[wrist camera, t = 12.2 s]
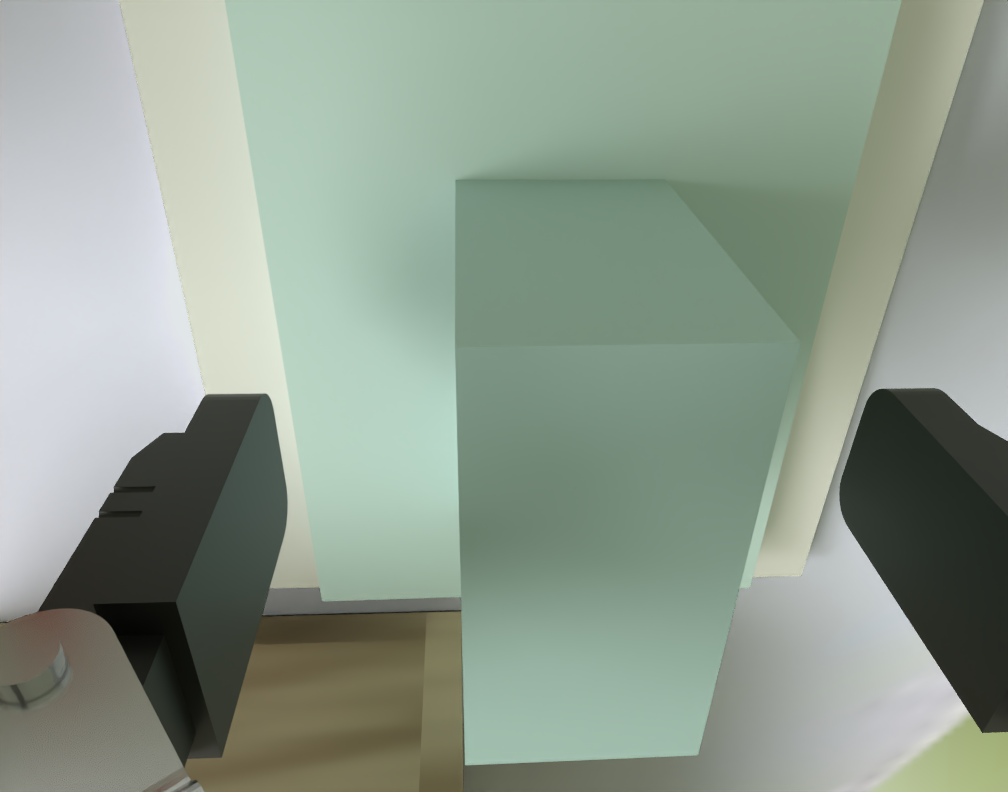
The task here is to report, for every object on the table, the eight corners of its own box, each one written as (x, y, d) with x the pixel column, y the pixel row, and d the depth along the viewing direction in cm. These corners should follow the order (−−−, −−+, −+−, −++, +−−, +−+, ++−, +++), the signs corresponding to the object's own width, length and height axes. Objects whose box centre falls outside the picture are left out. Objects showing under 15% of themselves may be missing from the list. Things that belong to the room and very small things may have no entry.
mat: (119, -82, 10) (100, -83, 10) (977, -60, 11) (1003, -60, 10) (254, 568, 16) (247, 589, 16) (791, 556, 17) (801, 575, 17)
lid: (242, -12, 10) (29, 49, 5) (865, -5, 11) (1245, 57, 6) (328, 565, 16) (268, 870, 11) (734, 553, 16) (862, 840, 11)
